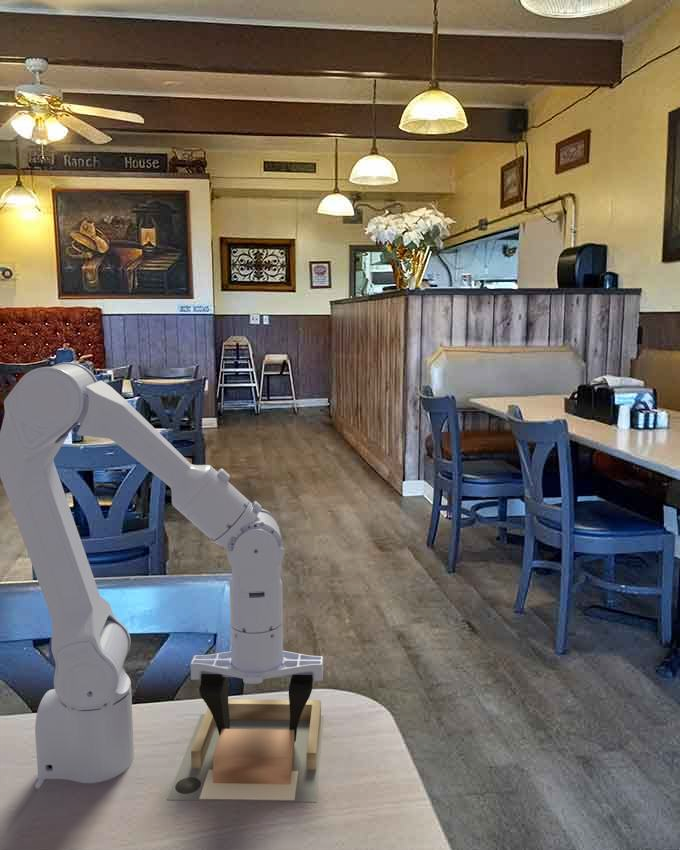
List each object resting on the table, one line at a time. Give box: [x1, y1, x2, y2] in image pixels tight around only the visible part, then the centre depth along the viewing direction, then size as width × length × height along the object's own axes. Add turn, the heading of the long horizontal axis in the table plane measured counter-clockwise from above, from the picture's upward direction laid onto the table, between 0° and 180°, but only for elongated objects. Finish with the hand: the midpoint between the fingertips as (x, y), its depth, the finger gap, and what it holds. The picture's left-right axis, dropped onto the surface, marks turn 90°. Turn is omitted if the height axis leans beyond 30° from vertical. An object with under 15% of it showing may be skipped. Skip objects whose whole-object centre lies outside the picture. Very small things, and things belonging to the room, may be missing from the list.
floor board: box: [166, 713, 324, 803], centre depth 78 cm, size 15×16×1 cm
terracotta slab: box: [213, 729, 295, 784], centre depth 75 cm, size 8×5×3 cm, turn 88°
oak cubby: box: [191, 698, 322, 770], centre depth 80 cm, size 13×10×2 cm
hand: (258, 736), depth 79 cm, fingers open, 7 cm apart
